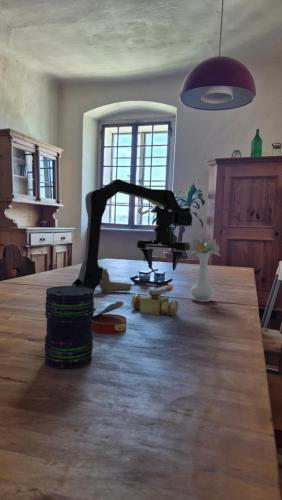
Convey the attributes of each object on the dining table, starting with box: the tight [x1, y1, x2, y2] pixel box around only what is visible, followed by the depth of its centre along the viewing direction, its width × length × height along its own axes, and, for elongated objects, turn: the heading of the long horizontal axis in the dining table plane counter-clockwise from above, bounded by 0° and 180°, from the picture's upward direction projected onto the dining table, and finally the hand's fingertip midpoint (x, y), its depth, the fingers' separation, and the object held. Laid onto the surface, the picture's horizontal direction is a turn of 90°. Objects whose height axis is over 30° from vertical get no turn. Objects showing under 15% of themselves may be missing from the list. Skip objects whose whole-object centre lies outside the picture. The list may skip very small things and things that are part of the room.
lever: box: [148, 285, 173, 296], centre depth 117 cm, size 13×4×2 cm, turn 151°
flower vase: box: [186, 237, 221, 303], centre depth 135 cm, size 13×18×25 cm
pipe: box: [98, 268, 133, 293], centre depth 145 cm, size 6×17×10 cm, turn 98°
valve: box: [130, 294, 179, 317], centre depth 114 cm, size 7×15×6 cm, turn 61°
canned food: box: [92, 301, 127, 335], centre depth 94 cm, size 11×10×10 cm
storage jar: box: [44, 285, 95, 371], centre depth 71 cm, size 10×10×15 cm
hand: (162, 268), depth 123 cm, fingers open, 9 cm apart
